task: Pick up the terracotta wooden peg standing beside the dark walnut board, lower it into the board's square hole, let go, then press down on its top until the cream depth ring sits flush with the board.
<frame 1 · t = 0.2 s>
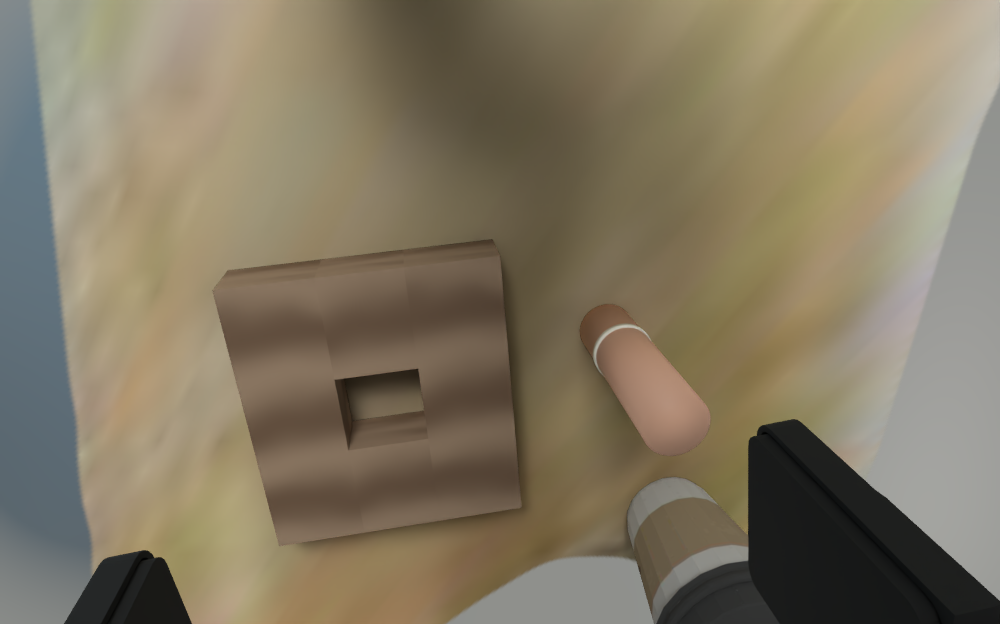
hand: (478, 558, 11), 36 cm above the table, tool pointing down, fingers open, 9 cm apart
peg: (605, 328, 50), on the table
board: (384, 383, 49), on the table
coffee cup: (665, 509, 58), on the table
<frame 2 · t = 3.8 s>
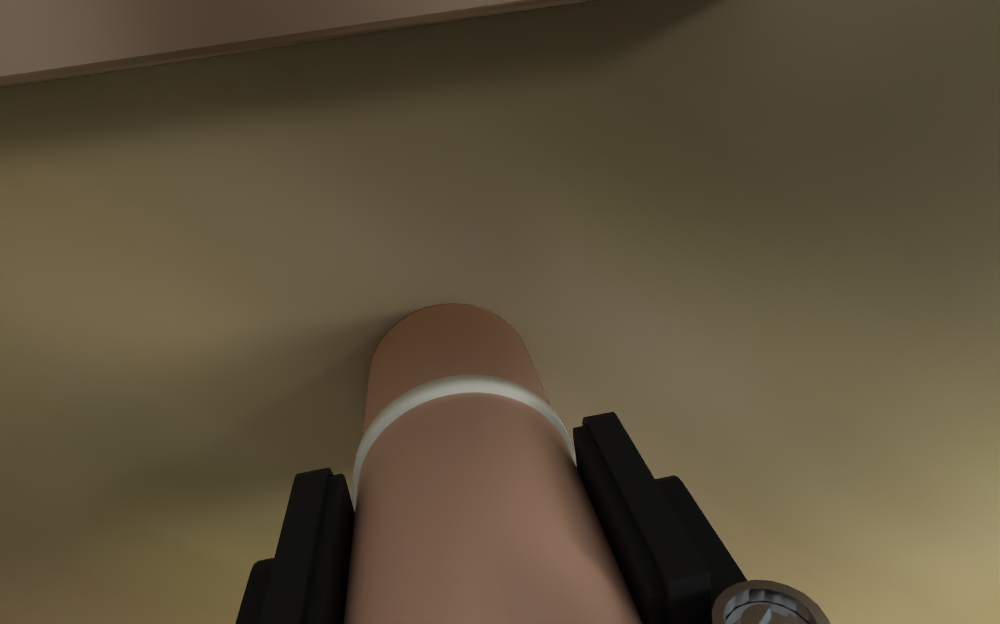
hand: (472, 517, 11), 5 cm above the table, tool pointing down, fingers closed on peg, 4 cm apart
peg: (451, 379, 16), on the table, touching gripper
when the fingers open (6 cm above the table, at t = 11.4 s): peg stays where it is, resting in board.
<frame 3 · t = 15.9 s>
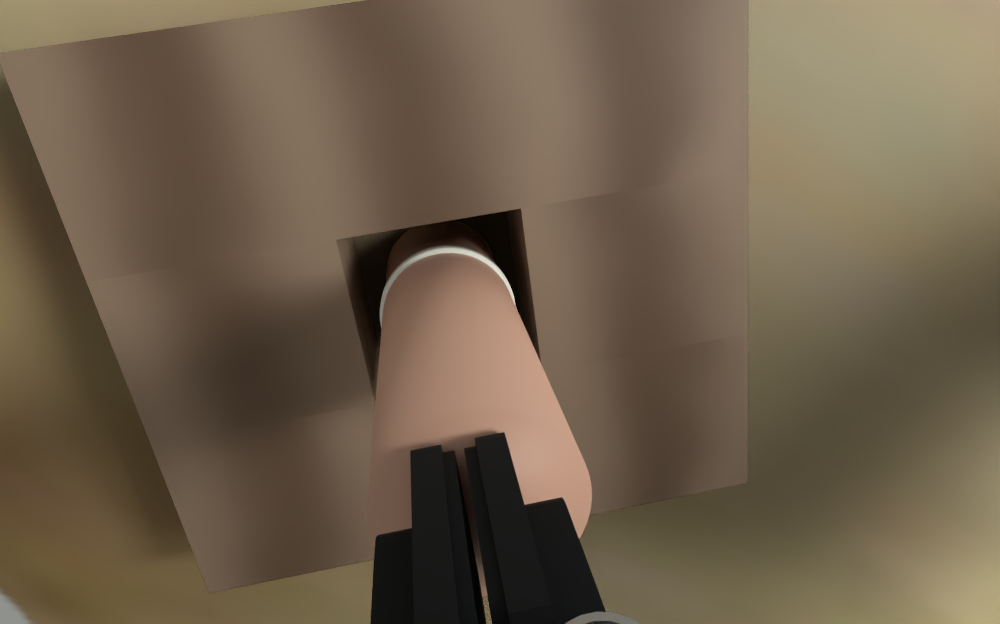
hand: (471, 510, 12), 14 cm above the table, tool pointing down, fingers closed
peg: (441, 271, 25), resting in board, touching gripper
board: (439, 271, 25), on the table
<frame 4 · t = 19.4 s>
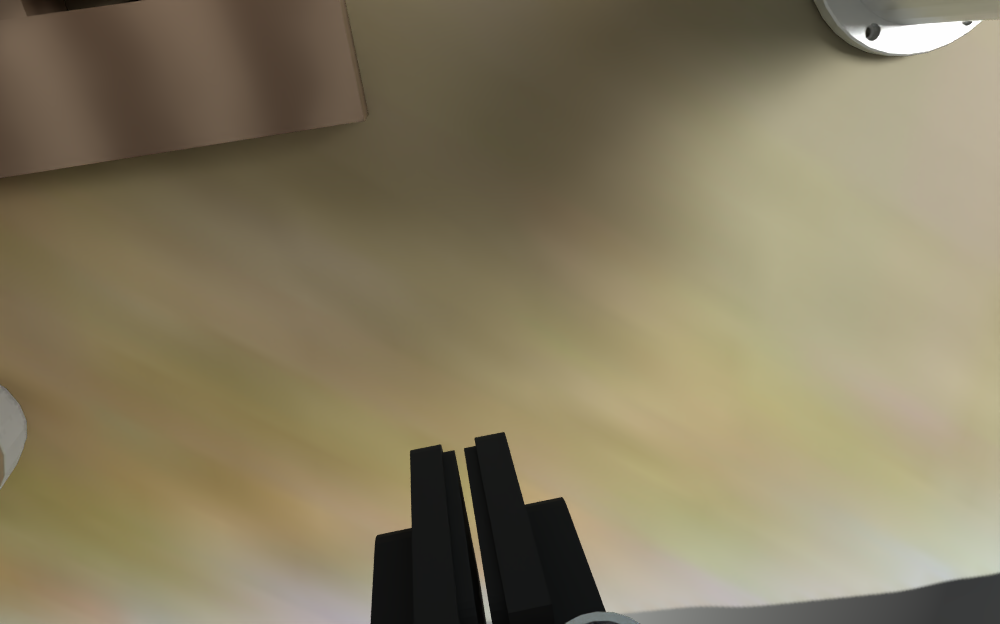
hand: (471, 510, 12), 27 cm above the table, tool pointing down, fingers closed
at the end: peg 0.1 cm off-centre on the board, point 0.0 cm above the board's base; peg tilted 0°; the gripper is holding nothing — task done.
